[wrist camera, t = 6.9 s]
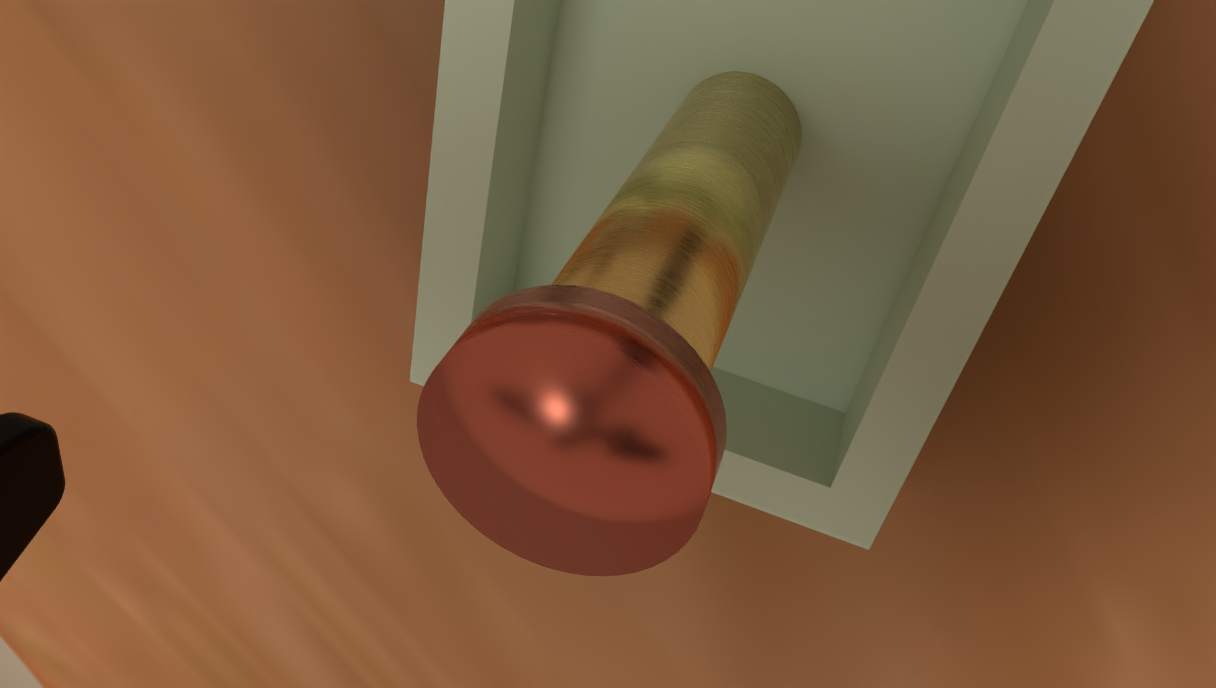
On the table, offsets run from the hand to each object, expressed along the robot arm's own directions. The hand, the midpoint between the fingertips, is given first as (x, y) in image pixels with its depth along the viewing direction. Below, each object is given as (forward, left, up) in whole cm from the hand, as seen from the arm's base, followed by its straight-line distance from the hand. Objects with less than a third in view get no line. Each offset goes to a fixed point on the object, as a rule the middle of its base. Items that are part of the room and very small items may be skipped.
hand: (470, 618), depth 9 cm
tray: (0, 0, -13) cm, 13 cm away
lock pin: (0, 0, -12) cm, 12 cm away
